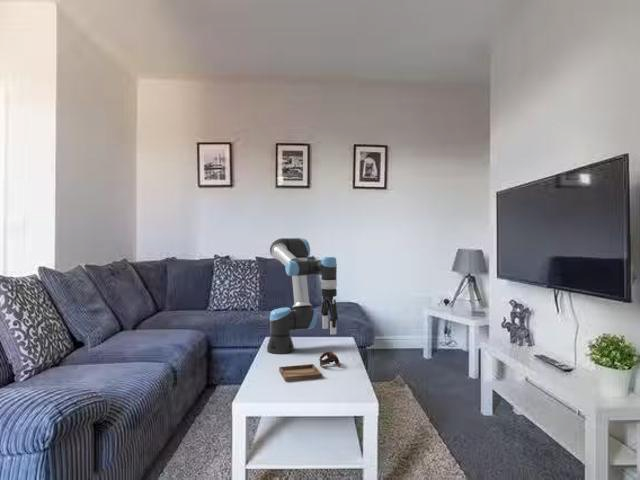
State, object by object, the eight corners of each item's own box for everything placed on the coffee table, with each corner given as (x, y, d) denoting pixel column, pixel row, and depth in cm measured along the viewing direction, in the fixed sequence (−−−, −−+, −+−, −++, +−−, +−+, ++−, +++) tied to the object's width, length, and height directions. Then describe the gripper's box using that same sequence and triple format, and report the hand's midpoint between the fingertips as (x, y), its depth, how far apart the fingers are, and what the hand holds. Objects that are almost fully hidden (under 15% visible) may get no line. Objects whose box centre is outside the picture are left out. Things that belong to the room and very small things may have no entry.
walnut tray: (279, 371, 197) (279, 366, 197) (313, 368, 201) (313, 364, 201) (285, 381, 182) (285, 377, 182) (321, 378, 186) (321, 373, 186)
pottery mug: (341, 370, 200) (333, 356, 198) (324, 378, 201) (316, 364, 200) (341, 357, 211) (334, 344, 210) (325, 364, 213) (317, 351, 211)
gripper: (315, 286, 216) (315, 326, 216) (329, 291, 192) (329, 337, 192) (328, 285, 218) (329, 326, 218) (344, 290, 194) (344, 336, 194)
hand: (329, 331), depth 205 cm, fingers open, 13 cm apart
